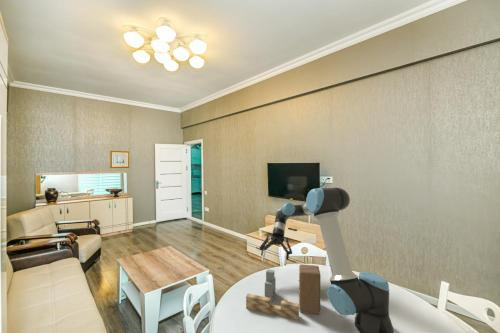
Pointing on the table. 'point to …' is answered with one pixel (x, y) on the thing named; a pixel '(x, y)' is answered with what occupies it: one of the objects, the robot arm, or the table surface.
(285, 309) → the oak slotted plate
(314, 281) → the wooden block
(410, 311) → the table surface
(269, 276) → the grey stepped block
